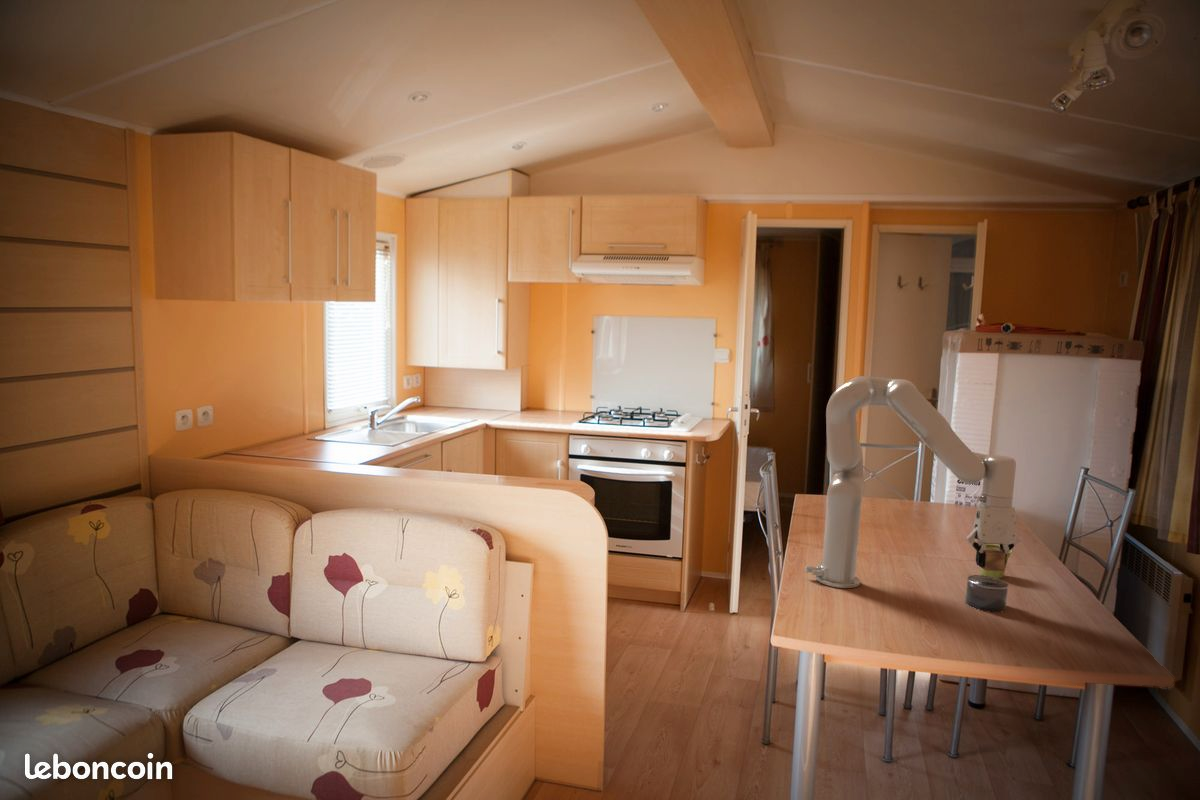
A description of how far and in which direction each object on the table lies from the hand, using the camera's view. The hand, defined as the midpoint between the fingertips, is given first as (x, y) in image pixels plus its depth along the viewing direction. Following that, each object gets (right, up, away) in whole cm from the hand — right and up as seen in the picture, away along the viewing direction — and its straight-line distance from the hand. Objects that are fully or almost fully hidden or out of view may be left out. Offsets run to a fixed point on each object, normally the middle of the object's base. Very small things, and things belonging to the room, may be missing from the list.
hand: (990, 565), depth 222 cm
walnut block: (0, -1, 0) cm, 1 cm away
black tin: (-1, -11, +1) cm, 12 cm away
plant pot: (+14, -9, +28) cm, 33 cm away
